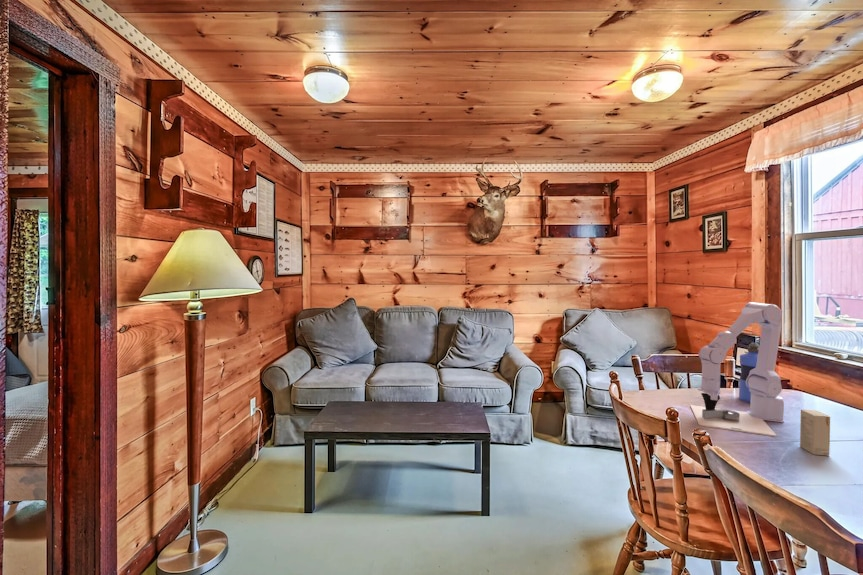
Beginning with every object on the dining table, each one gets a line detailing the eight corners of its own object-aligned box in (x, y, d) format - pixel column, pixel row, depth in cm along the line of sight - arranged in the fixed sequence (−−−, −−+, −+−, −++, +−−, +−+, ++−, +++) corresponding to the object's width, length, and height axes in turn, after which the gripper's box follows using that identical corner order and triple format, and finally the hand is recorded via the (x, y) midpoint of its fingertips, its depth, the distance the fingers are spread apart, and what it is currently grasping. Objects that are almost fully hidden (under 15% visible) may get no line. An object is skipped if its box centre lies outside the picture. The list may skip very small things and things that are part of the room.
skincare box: (830, 456, 120) (832, 417, 120) (813, 455, 121) (815, 416, 120) (814, 446, 127) (816, 409, 126) (798, 445, 127) (800, 408, 127)
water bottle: (772, 404, 166) (774, 345, 164) (749, 404, 166) (751, 345, 164) (754, 396, 175) (756, 341, 174) (733, 396, 175) (735, 341, 174)
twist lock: (730, 414, 152) (731, 406, 152) (743, 420, 146) (743, 412, 146) (697, 415, 151) (698, 407, 151) (709, 421, 145) (709, 413, 145)
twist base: (757, 414, 154) (757, 413, 154) (776, 436, 134) (776, 435, 134) (690, 406, 163) (690, 404, 163) (699, 425, 144) (699, 423, 144)
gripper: (695, 372, 158) (694, 405, 158) (701, 381, 145) (700, 418, 145) (716, 374, 155) (715, 407, 155) (725, 384, 142) (723, 421, 142)
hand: (709, 413), depth 150 cm, fingers closed, pressing on twist lock
